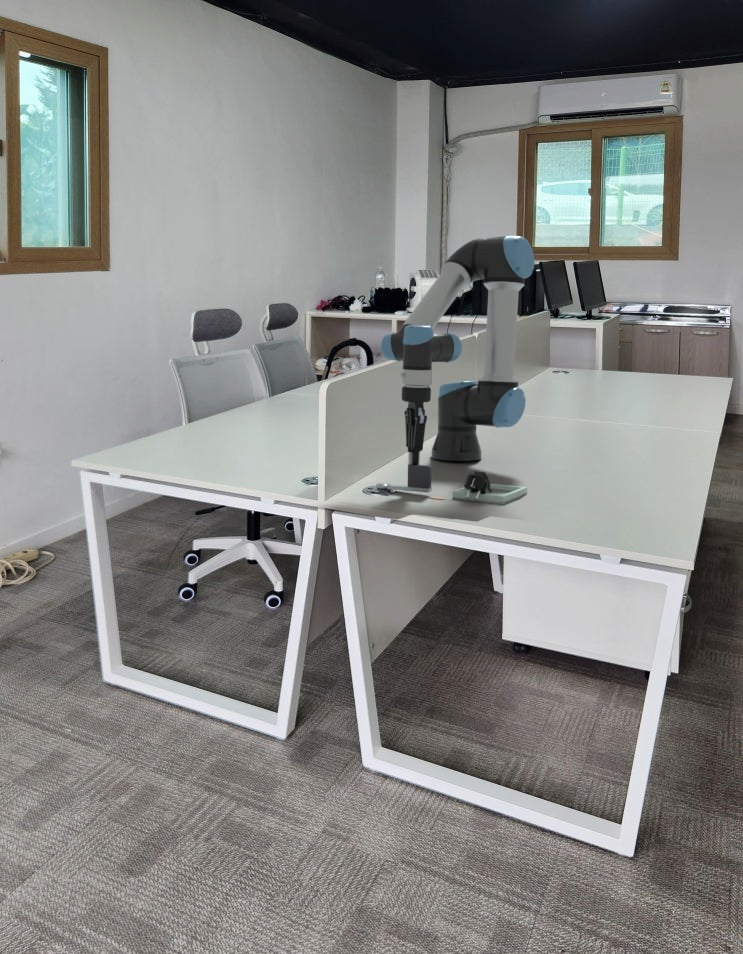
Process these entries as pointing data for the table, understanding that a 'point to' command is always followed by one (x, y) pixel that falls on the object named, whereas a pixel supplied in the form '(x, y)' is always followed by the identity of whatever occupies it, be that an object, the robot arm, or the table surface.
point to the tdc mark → (437, 498)
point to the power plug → (477, 484)
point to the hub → (384, 491)
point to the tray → (492, 494)
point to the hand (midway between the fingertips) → (413, 475)
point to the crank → (413, 480)
